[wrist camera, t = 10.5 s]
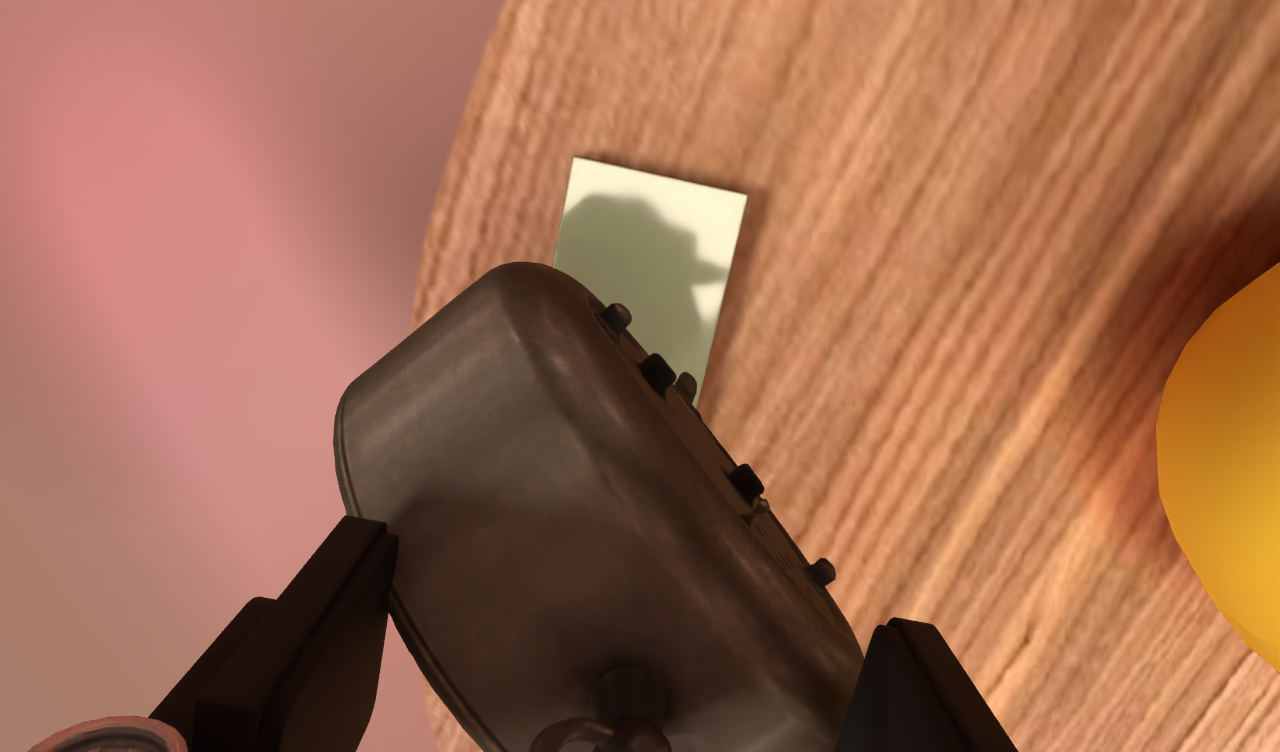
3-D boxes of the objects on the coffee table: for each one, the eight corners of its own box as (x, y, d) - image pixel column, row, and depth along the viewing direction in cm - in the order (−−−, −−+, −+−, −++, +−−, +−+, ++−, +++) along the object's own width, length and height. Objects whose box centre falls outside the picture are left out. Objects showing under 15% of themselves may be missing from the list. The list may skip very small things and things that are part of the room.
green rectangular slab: (674, 489, 35) (675, 496, 34) (517, 459, 34) (515, 465, 34) (746, 193, 32) (749, 194, 31) (574, 155, 31) (572, 155, 30)
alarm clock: (417, 326, 21) (-159, 803, 5) (575, 198, 20) (451, 308, 5) (667, 612, 23) (781, 1515, 8) (817, 506, 23) (1274, 1267, 7)
